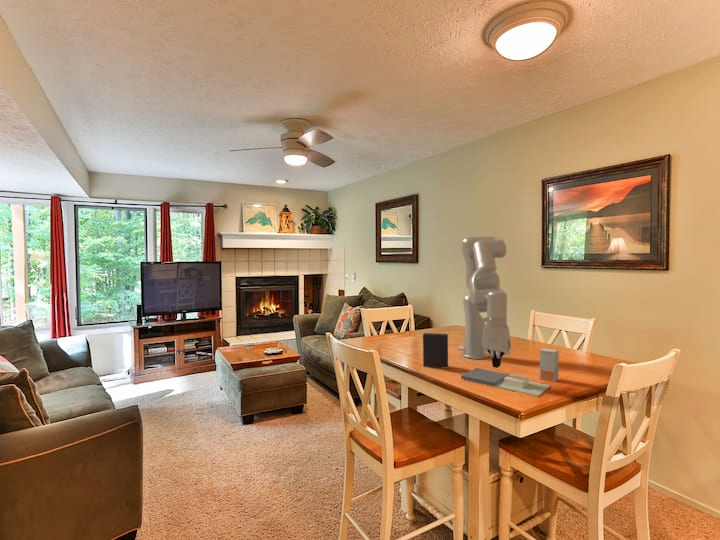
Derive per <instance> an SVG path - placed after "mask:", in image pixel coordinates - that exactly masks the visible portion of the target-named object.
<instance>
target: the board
mask: <svg viewBox="0 0 720 540" xmlns="http://www.w3.org/2000/svg"><path fill="white" fill-rule="evenodd" d="M508 375H510V374H509V373H503V372H500V371H499V372H498V371H493V370H489V369H483V368H478V367H476V368H473V369H471V370H469V371H468V372H466V373H463V374H462V375H460V376H461V377H460V379H464V380H463V381H466V380H468V381H467V382H470V381H473V382H472V383H475V382H477V383H476V384H479V383H481V384H480V385H484V384H486V385H485V386H488V385H490V386H489V387H493V386H495V385H497V384H498V383H500V382H502V381H503V380H504V378H505V377H507V376H508Z"/></svg>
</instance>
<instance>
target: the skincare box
mask: <svg viewBox="0 0 720 540" xmlns="http://www.w3.org/2000/svg"><path fill="white" fill-rule="evenodd" d="M559 355H560V353H559V350H558V349H552V348H544V347H543V348H541V349H540V350H539V379H541V380H546V381H550V382H556V381H558V380H559V357H560V356H559Z"/></svg>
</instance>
